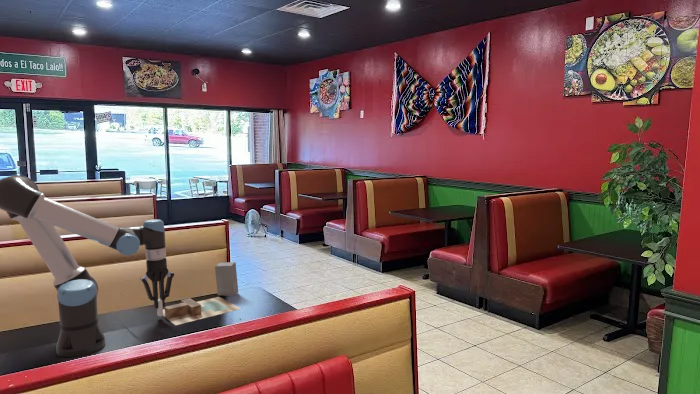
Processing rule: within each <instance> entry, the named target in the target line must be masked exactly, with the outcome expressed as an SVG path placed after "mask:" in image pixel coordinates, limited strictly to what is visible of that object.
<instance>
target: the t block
mask: <svg viewBox="0 0 700 394" xmlns="http://www.w3.org/2000/svg"><path fill="white" fill-rule="evenodd" d="M197 302H198V301H195V300H193V299H192V298H190V297H189V298H185V299H181V300H180V302H179V303H176V304H175V303H174V304H171V305H165V307H164V309H165V317H164V318H166V317H167V318H168V319H170V318H174V317H178V316H183V315H187V314H189V315H190V316H192V317H193V316H197V315H201V305H200V304H199V303H197ZM167 318H166V319H167ZM168 319H167V320H168Z"/></svg>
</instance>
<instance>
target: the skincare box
mask: <svg viewBox="0 0 700 394" xmlns="http://www.w3.org/2000/svg"><path fill="white" fill-rule="evenodd" d="M236 264H237V263H236V261H231V262H227V261H226V262H219V263H217V264H216V265H215V266H214V271H215V282H216V292H217V293H216V294H217V296H232V297H233V296H235V295H238V294H239V285H238V274H237V265H236Z"/></svg>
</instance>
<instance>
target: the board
mask: <svg viewBox="0 0 700 394" xmlns="http://www.w3.org/2000/svg"><path fill="white" fill-rule="evenodd" d="M196 302H197V303H199V304H200V305H201V315H197V316H193V317H192V316H190V315H189V314H187V315H183V316H178V317H174V318H170V319H168V318H167V317H165V308H164V309H163V316H162V317H164V318H166V320H168V321H169V322H170V323H172V324H173V325H174V326H180V325H183V324H187V323H190V322H191V323H192V322H195V321H198V320H199V321H200V320H202V319H207V318H210V317H211V318H212V317H216V316H218V315H223V314H226V313H230V312H235V311H238V310H239V311H240V310H241V309H242V308H241V307H238V306H237V305H235V304H233V303H232V302H229V301H228V300H226V299H224V298H222V297H220V296H216V297H212V298H207V299H203V300H198V301H196Z"/></svg>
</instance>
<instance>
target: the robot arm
mask: <svg viewBox="0 0 700 394" xmlns="http://www.w3.org/2000/svg"><path fill="white" fill-rule="evenodd" d="M0 210H2V211H4V212H6V214H7V215H8V216H9V218H10V220H12V221H17V222H18V223H19V224H20V226H21V228H22V230H24V232H25V234H26V235H27V237H28V239H29V240H30V242H31V243H32V245H33V246H34V248H35V250H36V251H37V253H38V254H39V255H40V257H41V259H42V260H43V261H44V263H45V265H46V267H47V268H48V269H49V271H50V273H51V274H52V276H53V278H54V279H53V280H54V281H53V283H52V284H53V286H54V288H55V289H56V292H57V295H56V298H57V302H58V315H59V325H60V326H59V327H60V330H59V331H60V332H59V335H58V339H57V342H56V346H55V350H56V355H57V356H58V357H63V358H73V357H80V356H87V355H90V354H93V353H95V352H97V351H99V350H101V349H102V348H104V346H106V336H105V334H104V333H103V331H102V328H101V326H100V325H99V317H98V316H99V313H98V295H99V286H98V282H97V280H96V279H95V278H94V277H92V275H91V274H90V273H89V271H88V270H87V268H86V267H85V266H80V265H79V264H78V262H77V261H76V259H75V258H74V256H73V253H71V251H70V250H69V247H68V246H67V245H66V243H65V241H64V240H63V238H62V236H61V235H60V233H59V231H58V230H57V228H60V229H62V230H65V231H67V232H70V233H72V234H75V235H77V236H80V237H83V238H85V239H88V240H91V241H94V242H96V243H98V244H101V245H103V246H106V247H109V248H110V249H112V250H116V251H118V253H120V254H121V255H123V256H133V255H134V254H136V253H137V252H138V250H139V249H140V246H144V247H145V259H146V262H145V264H146V272H145V275H144V276H143V277H140V278H139V281H141V282H142V283H143V286H144V289H145V292H146V294H147V295H146V296H147V297H148V299H149V300H150V301H153V306H154V309H155V310H156V314H157V316H158V317H164V316H163V308H165V307H166V302H165V301H166V298H168V297H170V293H171V287H172V281H173V278H174V276H175V273H174V272H173V271H169V269H168V265H167V264H168V263H167V262H168V261H167V258H166V257H167V251H166V250H167V249H166V234H165V233H166V231H165V223H164V221H163V220H162V219H149V220H148V219H147V220H145V221H143V224H142V225H141V226H131V227H118V226H116V225H113V224H110V223H109V222H106V221H103V220H101V219H99V218H96V217H94V216H91V215H89V214H86V213H84V212H81V211H79V210H76V208H72V207H69V206H68V205H65V204H62V203H60V202H57V201H55V200H52V199H50V198H48V197H46V195H45V194H44V193H43V192H41V191H40V189H39V187H38V185H37V183H36V182H35V181H34V180H33V179H32V178H30V177H27V176H25V175H22V174H21V175H20V174H17V175H16V174H15V175H11V176H6V177H4V178H1V179H0ZM56 227H57V228H56ZM166 276H167V278H166ZM165 278H166V279H165ZM165 280H166V281H165ZM148 281H151V284H152V289H151V287H150V284H149V282H148ZM165 282H166V283H165Z"/></svg>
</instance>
